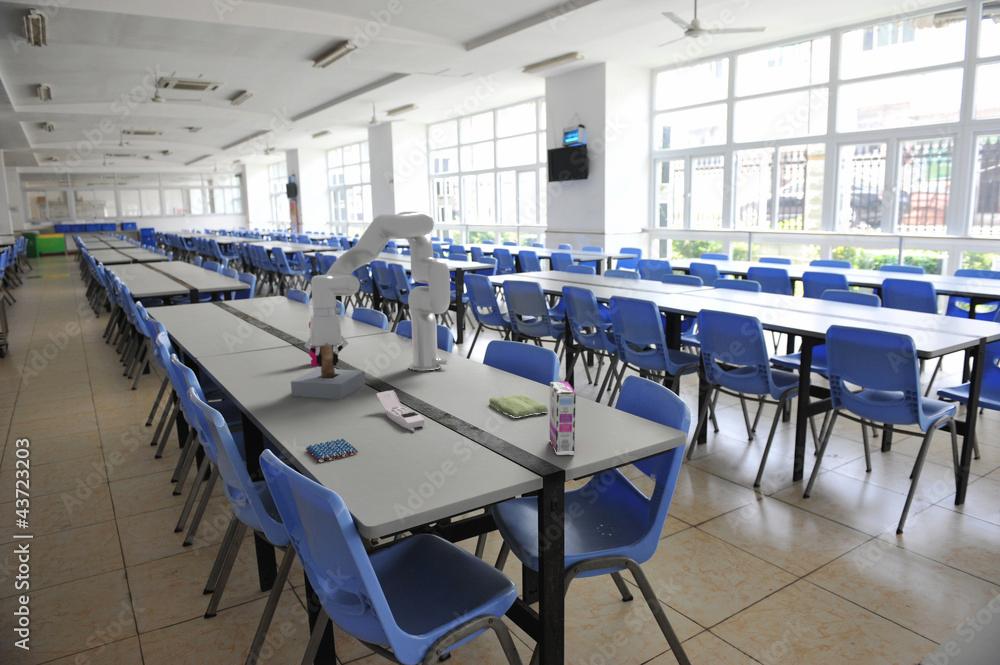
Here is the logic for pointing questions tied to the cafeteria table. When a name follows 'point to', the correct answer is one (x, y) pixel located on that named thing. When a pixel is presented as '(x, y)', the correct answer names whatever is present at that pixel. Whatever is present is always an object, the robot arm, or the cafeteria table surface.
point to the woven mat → (331, 450)
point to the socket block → (328, 384)
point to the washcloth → (517, 405)
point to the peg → (327, 361)
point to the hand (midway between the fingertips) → (327, 364)
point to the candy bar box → (562, 416)
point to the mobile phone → (399, 411)
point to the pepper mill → (313, 355)
